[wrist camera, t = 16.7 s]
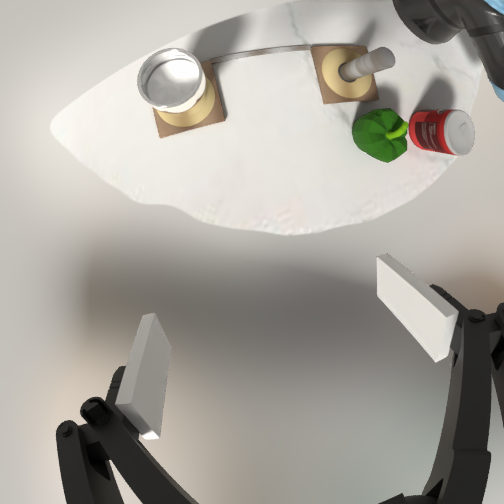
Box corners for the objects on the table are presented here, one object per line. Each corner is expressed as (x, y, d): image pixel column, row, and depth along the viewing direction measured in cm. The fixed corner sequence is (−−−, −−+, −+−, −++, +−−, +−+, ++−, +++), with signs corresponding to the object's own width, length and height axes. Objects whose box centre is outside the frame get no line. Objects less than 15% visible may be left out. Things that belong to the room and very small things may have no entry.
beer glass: (158, 83, 36) (130, 58, 22) (203, 71, 36) (197, 38, 22) (167, 125, 38) (142, 118, 25) (213, 113, 39) (211, 99, 25)
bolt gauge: (362, 44, 37) (404, 24, 25) (375, 100, 41) (422, 93, 29) (147, 76, 36) (121, 55, 24) (161, 138, 40) (139, 137, 28)
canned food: (440, 125, 44) (479, 128, 34) (427, 157, 46) (466, 165, 36) (416, 101, 42) (455, 99, 32) (401, 135, 44) (440, 138, 34)
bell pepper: (358, 166, 45) (389, 174, 36) (337, 123, 42) (365, 121, 33) (393, 145, 45) (428, 150, 35) (374, 104, 42) (407, 100, 32)
